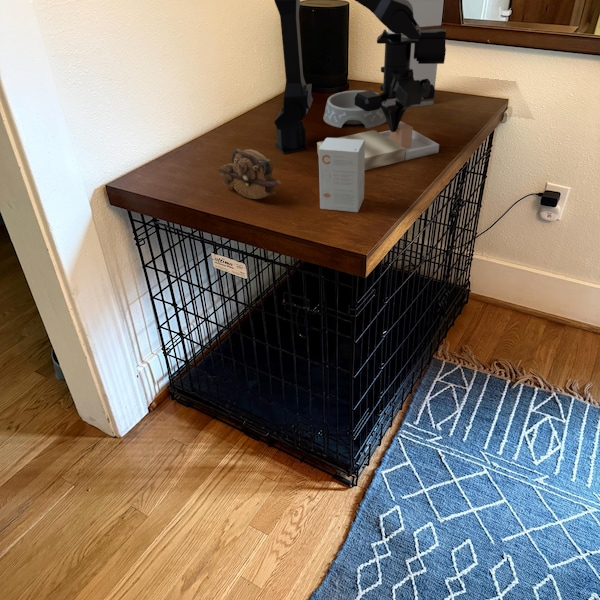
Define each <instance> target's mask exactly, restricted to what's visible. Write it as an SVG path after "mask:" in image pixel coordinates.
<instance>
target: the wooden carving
mask: <svg viewBox="0 0 600 600" xmlns="http://www.w3.org/2000/svg"><path fill="white" fill-rule="evenodd" d="M230 160H231V162H230V163H227V164H225V165H223V166H220V167H218V168H217V170H218V172H219V175H220V178H221V179H222V182H223V185H224V186H225V187H227V188H233V189H234V190H235V191H236V192H237V194H239V195H241V196H242V197H244V198H247V199H252V200H260V199H263V198H266V197H269V196H273V195H275V194H276V193H277V191H276V190H275V188H274V187H277V186H280V185H282V183H281V181H280V179H277V178H274V176H273V171H274V164H273V162H272V160H271V159H269V158H267V157H266V156H265V155H264V154H262V153H260V152H259V151H257V150H255V149H252V148H251V149H250V148H248V149H247V148H246V149H243V150H242V149H240V148H237V149H234V150H233V151H232V154H231V158H230Z"/></svg>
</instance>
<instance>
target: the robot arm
mask: <svg viewBox="0 0 600 600" xmlns="http://www.w3.org/2000/svg"><path fill="white" fill-rule="evenodd" d="M354 1H355V2H357V3H358V4H360V5H362V6H363V7H365V9H368V10H369V11H370V12H371V13H372V14H373V15H374V16H375V17H376V18H377V19H378V21H380V23H382V25H384V26H385V27H386V28H387V29H389V30H390V31H392V32H393V33H394V34H389V33H388V30H387V29H383V31H382V33H381V34H379V36H377V37H376V39H377V40H376V43H377V44H380V45H381V44H384V60H383V61H384V62H383V63H384V66H381V67H380V72H381V73H383V80H382V81H383V84H381V85H380V86H379V91H382V93H378V94H376V93H377V92H376V93H374V91H372V90H363V91H364V92H359V93H357V95H356V96H355V105H356V106H358V107H359V108H361V109H363V110H365V111H373V110H378V109H379V108H380V107H381V109H382V111H383V113H384V115H385V117H386V120H387V121H386V122H387V125H388V127H389V130H390V131H391V132H396V130H397V127H398V125H399V123H400V121H401V120H402V118H403V115H404V114H405V112H406V110H407V109H409V108H411V107H410V106H412V105H415V104H417V105H419V104H421V101H422V98H423V99H424V100H426V99H431V98H434V99H435V97H436V87H435V88H434V86H433V85H432V84H430V81H429V80H428V79H422V80H420V81H419V80H414V77H413V69H410V57H411V43H415V44H414V59H416V61H418V64H437V65H443V64H445V59H446V50H447V47H446V39H447V37H446V35H447V31H446V29H442V28H441V29H440V30H435V31H420V27H419V25H418V24H417V22H416V21H415V19H414V18H413V7H412V5H411V3H410V2H409V1H407V0H354ZM274 4H275V6H276V9H277V11H278V14H279V18H280V28H281V39H282V40H281V41H282V49H283V50H282V51H283V63H284V72H285V85H284V93H283V100H282V101H283V103H282V108H281V109H280V110H279V113H278V114H277V116H276V118H275V120H274V125H275V129H276V130H275V132H276V134H275V135H276V143H274V147H276V149H278V150H279V151H280V152H281V153H282V154H285V155H286V154H291V153H296V152H301V151H304V150H308V146H307V145H306V144H307V128H306V127H305V124H304V122H303V121H302V120H304V119H305V117H306V116H307V113H308V111H309V109H310V108H311V106H312V103H313V101H314V98H313V96H312V88H313V85H312V83H308V84H307V83H306V81H305V77H304V72H303V70H304V69H303V68H304V67H303V57H302V56H303V55H302V42H301V27H300V15H299V13H300V6H301V5H300V4H301V0H274ZM401 33H402V34H404V35H405V36H406V37H401ZM417 39H418V40H417Z"/></svg>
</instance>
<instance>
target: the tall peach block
mask: <svg viewBox="0 0 600 600" xmlns="http://www.w3.org/2000/svg"><path fill="white" fill-rule="evenodd" d="M413 128H414V127H413V126H411V125H409V124H407V123H405V122H403V121H401V120H400V123H399V125H398V127H397V130H396V132H391V131H390V140H392V141H393V142H395V143H397V144H398V145H400V146H402V147H403V148H405V149H406V148H411V143H412V130H414V129H413Z"/></svg>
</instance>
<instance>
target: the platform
mask: <svg viewBox="0 0 600 600" xmlns="http://www.w3.org/2000/svg"><path fill="white" fill-rule="evenodd" d="M338 138H342V139H358V140H365V168H364V171H367V170H371V169H376V168H380V167H383V166H387V165H391V164H395V163H400V162H405V160H404V157H405V148H403V147H402V146H400V145H398V144H397V143H395V142H393V141H392V140H390V139H389V138H387V137H385V136H384V135H382V134H380V133H379V132H378V131H377V130H376V129H372V130H367V131H362V132H358V133H355V134H354V133H353V134H350V135H345V136H339V137H338ZM324 141H325V140H321V141H318V142H316V145H317V146H316V148H317V150H316V151H317V155H318V156H319V152H318V149H319V147H320V146H321V145H322V143H323V142H324Z"/></svg>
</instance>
